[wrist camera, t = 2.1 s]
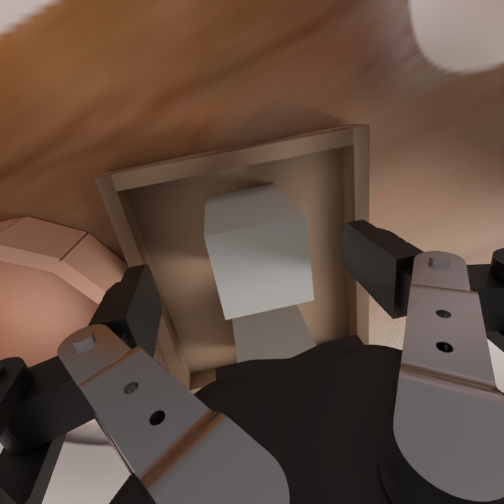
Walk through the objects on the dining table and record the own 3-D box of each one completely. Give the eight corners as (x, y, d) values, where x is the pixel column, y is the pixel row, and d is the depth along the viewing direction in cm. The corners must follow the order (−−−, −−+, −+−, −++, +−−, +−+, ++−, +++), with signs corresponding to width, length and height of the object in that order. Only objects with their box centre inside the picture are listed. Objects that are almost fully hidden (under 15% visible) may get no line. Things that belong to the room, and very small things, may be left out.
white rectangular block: (288, 286, 20) (318, 350, 15) (295, 333, 22) (324, 405, 16) (229, 299, 20) (238, 369, 14) (240, 345, 22) (252, 423, 16)
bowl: (105, 200, 17) (80, 221, 13) (165, 356, 21) (158, 397, 18) (-115, 244, 16) (-194, 276, 13) (0, 393, 21) (-36, 443, 18)
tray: (352, 124, 17) (369, 125, 15) (356, 339, 23) (368, 356, 22) (105, 171, 16) (93, 178, 14) (183, 379, 23) (181, 400, 21)
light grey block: (274, 183, 17) (306, 215, 12) (283, 246, 19) (314, 300, 13) (205, 197, 17) (203, 236, 11) (220, 259, 18) (225, 319, 13)
